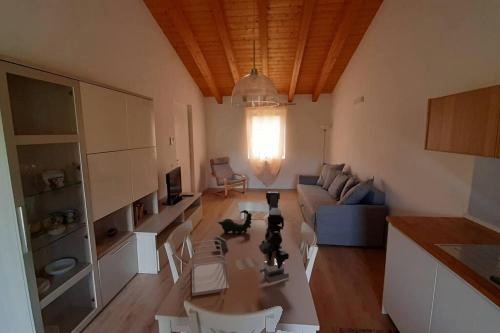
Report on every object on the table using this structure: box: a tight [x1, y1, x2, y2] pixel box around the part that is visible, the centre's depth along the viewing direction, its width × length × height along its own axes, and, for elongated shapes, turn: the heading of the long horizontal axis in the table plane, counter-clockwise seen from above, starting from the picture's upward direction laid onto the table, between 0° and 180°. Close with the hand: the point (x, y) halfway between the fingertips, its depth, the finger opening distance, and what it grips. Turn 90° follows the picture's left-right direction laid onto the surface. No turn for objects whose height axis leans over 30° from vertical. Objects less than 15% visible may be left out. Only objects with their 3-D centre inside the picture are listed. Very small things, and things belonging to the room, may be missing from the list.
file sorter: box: [191, 239, 230, 297], centre depth 127 cm, size 25×17×16 cm
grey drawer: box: [263, 258, 285, 278], centre depth 130 cm, size 6×9×7 cm, turn 115°
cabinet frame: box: [259, 267, 290, 284], centre depth 131 cm, size 12×10×2 cm
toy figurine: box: [217, 209, 253, 235], centre depth 183 cm, size 9×19×25 cm
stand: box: [232, 256, 259, 271], centre depth 140 cm, size 12×10×2 cm
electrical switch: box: [213, 235, 230, 253], centre depth 156 cm, size 9×5×9 cm, turn 44°
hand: (274, 264), depth 130 cm, fingers open, 9 cm apart
